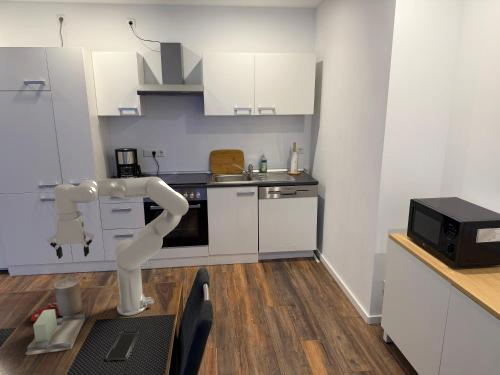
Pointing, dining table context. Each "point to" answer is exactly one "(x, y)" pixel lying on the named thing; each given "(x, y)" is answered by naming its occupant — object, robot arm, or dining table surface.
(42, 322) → the sage panel block
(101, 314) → the dining table surface
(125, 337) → the phone
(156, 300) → the dining table surface
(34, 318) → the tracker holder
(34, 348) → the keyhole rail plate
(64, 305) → the pillar candle
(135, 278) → the robot arm
